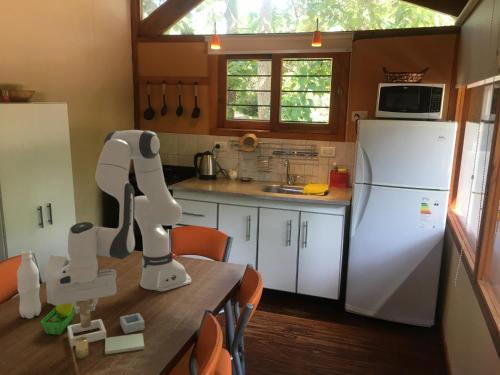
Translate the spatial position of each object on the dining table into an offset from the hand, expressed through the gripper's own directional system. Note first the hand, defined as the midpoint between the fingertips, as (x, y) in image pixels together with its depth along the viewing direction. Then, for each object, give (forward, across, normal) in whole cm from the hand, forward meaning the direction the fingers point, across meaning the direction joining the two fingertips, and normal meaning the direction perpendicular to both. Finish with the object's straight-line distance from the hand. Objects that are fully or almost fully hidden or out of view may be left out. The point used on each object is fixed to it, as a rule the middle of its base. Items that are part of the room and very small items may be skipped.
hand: (85, 311), depth 140 cm
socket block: (+10, -15, +1) cm, 18 cm away
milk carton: (+10, +5, -33) cm, 35 cm away
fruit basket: (+10, +7, -11) cm, 17 cm away
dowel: (+5, 0, 0) cm, 5 cm away
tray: (+10, 0, 0) cm, 10 cm away
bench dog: (+10, +3, +11) cm, 15 cm away
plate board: (+10, -10, +11) cm, 18 cm away
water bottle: (+10, +16, -25) cm, 31 cm away
